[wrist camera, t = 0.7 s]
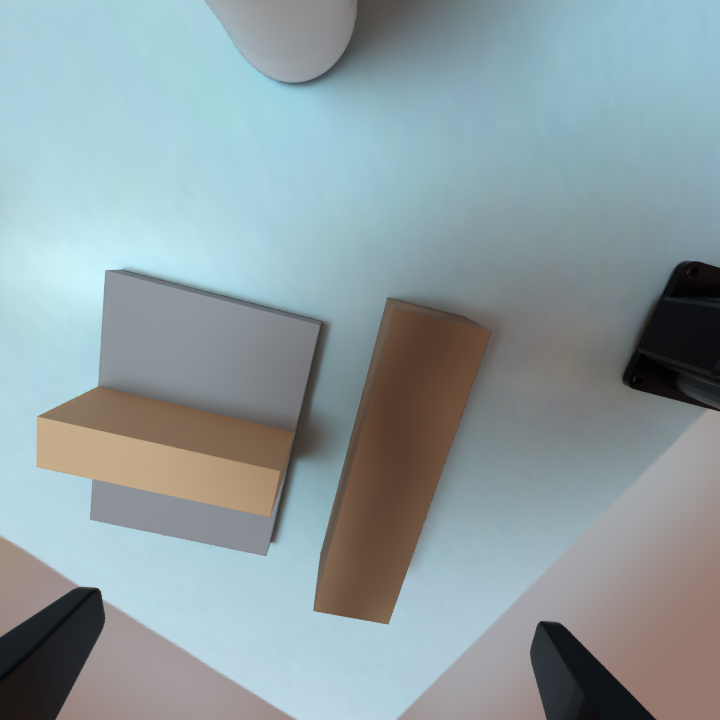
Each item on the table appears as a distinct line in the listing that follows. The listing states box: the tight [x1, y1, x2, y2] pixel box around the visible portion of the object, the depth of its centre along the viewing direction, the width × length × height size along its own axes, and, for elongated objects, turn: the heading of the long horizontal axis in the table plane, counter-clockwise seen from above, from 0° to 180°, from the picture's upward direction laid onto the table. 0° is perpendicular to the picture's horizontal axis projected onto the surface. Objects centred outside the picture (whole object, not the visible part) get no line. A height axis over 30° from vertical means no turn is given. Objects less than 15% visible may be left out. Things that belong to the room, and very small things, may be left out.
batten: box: [313, 298, 491, 624], centre depth 18 cm, size 4×16×4 cm, turn 166°
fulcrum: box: [37, 270, 322, 556], centre depth 17 cm, size 10×14×4 cm
